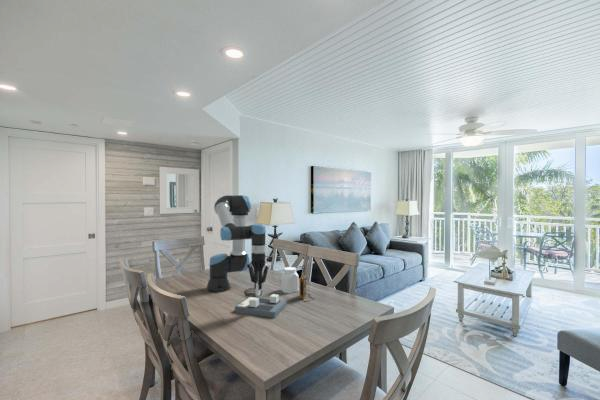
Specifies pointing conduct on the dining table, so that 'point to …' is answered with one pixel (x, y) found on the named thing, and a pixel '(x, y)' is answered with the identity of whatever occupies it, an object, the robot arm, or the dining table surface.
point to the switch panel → (261, 307)
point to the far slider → (274, 298)
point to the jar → (290, 280)
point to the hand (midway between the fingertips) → (258, 294)
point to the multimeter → (303, 286)
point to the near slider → (253, 302)
